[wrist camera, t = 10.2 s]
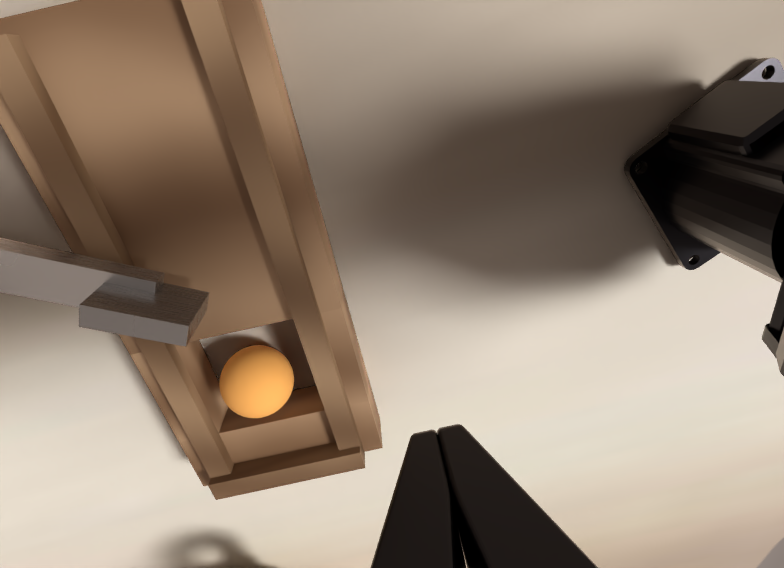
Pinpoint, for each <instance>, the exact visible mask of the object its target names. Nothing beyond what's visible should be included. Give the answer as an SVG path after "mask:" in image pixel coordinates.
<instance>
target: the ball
mask: <svg viewBox="0 0 784 568" xmlns="http://www.w3.org/2000/svg"><path fill="white" fill-rule="evenodd" d="M219 384H220V392H221V396H222V398H223V400H224V402H225V403H226V405H227V406H228V407H229V408H230V409H231V410H232V411H233V412H235V413H236V414H238V415H241V416H243V417H247V418H262V417H266V416H269V415H271V414H273V413H275V412H276V411H278V410H279V409H280V408H281V407H282V406H283V405H284V404H285V403H286V402H287V400H288V399H289V397H290V395H291V392H292V389H293V384H294V375H293V370H292V367H291V365H290V363H289V361H288V360H287V358H286V357H285V356H284V355H283V354H282V353H281V352H279V351H278V350H276V349H274V348H271V347H268V346H263V345H255V346H249V347H246V348H243V349H241V350H240V351H238V352H236V353H235V354H234V355H232V356H231V357H230V358H229V360H228V361H227V362H226V364H225V365H224V367H223V369H222V372H221V376H220V382H219Z"/></svg>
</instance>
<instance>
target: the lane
mask: <svg viewBox="0 0 784 568" xmlns="http://www.w3.org/2000/svg"><path fill="white" fill-rule="evenodd" d="M0 124H1V125H2V127H3V129H4V131H5V132H6V134H7V136H8V138H9V140H10V141H11V143H12V145H13V147H14V149H15V150H16V152H17V154H18V156H19V157H20V159H21V161H22V163H23V165H24V166H25V168H26V170H27V172H28V174H29V175H30V177H31V179H32V181H33V182H34V184H35V186H36V188H37V190H38V191H39V193H40V195H41V197H42V198H43V200H44V202H45V204H46V206H47V207H48V209H49V211H50V213H51V215H52V216H53V218H54V220H55V222H56V223H57V225H58V227H59V229H60V231H61V232H62V234H63V236H64V238H65V240H66V241H67V243H68V245H69V247H70V248H71V250H72V252H73V253H75V254H80V255H84V256H89V257H94V258H98V259H103V260H108V261H112V262H117V263H122V264H126V265H131V266H135V267H140V268H145V269H149V270H154V271H159V272H163V273H164V283H168V284H172V285H177V286H182V287H187V288H191V289H196V290H201V291H205V292H210V293H209V300H208V307H207V312H206V313H205V315H204V317H203V319H202V320H201V322H200V324H199V325H198V327H197V329H196V331H195V332H194V334H193V336H192V337H191V339H190V341H189V343H188V344H187V346H186V347H185V346H179V345H174V344H169V343H163V342H158V341H153V340H147V339H142V338H137V337H131V336H126V335H121V334H119V336H120V338H121V340H122V341H123V343H124V345H125V347H126V348H127V350H128V352H129V354H130V356H131V357H132V359H133V361H134V363H135V365H136V366H137V368H138V370H139V372H140V373H141V375H142V377H143V379H144V381H145V382H146V384H147V386H148V388H149V390H150V391H151V393H152V395H153V397H154V398H155V400H156V402H157V404H158V406H159V407H160V409H161V411H162V413H163V414H164V416H165V418H166V420H167V422H168V423H169V425H170V427H171V429H172V431H173V432H174V434H175V436H176V438H177V439H178V441H179V443H180V445H181V447H182V448H183V450H184V452H185V454H186V456H187V457H188V459H189V461H190V463H191V464H192V466H193V468H194V470H195V472H196V473H197V475H198V477H199V479H200V481H201V482H202V484H203V486H207V485H208V486H209V488H210V490H211V492H212V493H213V495H214V497H215V499H216V500H218V499H222V498H227V497H232V496H236V495H241V494H246V493H250V492H255V491H260V490H264V489H269V488H274V487H278V486H283V485H288V484H292V483H297V482H302V481H306V480H311V479H316V478H320V477H325V476H329V475H334V474H339V473H343V472H348V471H353V470H357V469H362V468H365V454H364V452H365V451H370V450H374V449H379V448H382V437H381V425H380V417H379V414H378V410H377V407H376V403H375V400H374V396H373V393H372V389H371V386H370V382H369V379H368V375H367V372H366V368H365V365H364V361H363V357H362V354H361V350H360V347H359V343H358V340H357V336H356V333H355V329H354V326H353V322H352V319H351V315H350V312H349V308H348V305H347V301H346V298H345V294H344V291H343V287H342V283H341V280H340V276H339V273H338V269H337V266H336V262H335V259H334V255H333V252H332V248H331V245H330V241H329V238H328V234H327V231H326V227H325V224H324V220H323V217H322V213H321V209H320V206H319V202H318V199H317V195H316V192H315V188H314V185H313V181H312V178H311V174H310V171H309V167H308V164H307V160H306V157H305V153H304V150H303V146H302V142H301V139H300V135H299V132H298V128H297V125H296V121H295V118H294V114H293V111H292V107H291V104H290V100H289V97H288V93H287V90H286V86H285V83H284V79H283V76H282V72H281V68H280V65H279V61H278V58H277V54H276V51H275V47H274V44H273V40H272V37H271V33H270V30H269V26H268V23H267V19H266V16H265V12H264V9H263V5H262V2H261V0H78V1H74V2H69V3H65V4H61V5H57V6H52V7H48V8H44V9H39V10H35V11H31V12H26V13H22V14H18V15H14V16H9V17H5V18H1V19H0ZM290 319H293V321H294V324H295V326H296V329H297V332H298V335H299V338H300V341H301V343H302V346H303V349H304V352H305V355H306V358H307V361H308V363H309V366H310V369H311V372H312V375H313V378H314V381H315V383H316V386H312V387H307V388H303V389H298V390H293V391H292V392H291V395H290V397H289V399H288V400H287V402H286V403H285V404H284V405H283V406H282V407H281V408H280V409H279V410H278V411H276V412H275V413H273V414H271V415H269V416H266V417H262V418H247V417H243V416H241V415H238V414H236V413H235V412H233V411H232V410H231V409H230V408H229V407H228V406H227V405H226V403H225V402H224V400H223V398H222V396H221V392H220V384H219V382H218V380H217V378H216V375H215V373H214V371H213V369H212V367H211V365H210V363H209V360H208V358H207V356H206V354H205V352H204V350H203V348H202V346H201V343H200V341H199V340H200V339H204V338H209V337H213V336H218V335H222V334H227V333H231V332H236V331H241V330H245V329H250V328H254V327H259V326H263V325H268V324H272V323H277V322H281V321H286V320H290Z"/></svg>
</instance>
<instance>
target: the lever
mask: <svg viewBox="0 0 784 568" xmlns="http://www.w3.org/2000/svg"><path fill="white" fill-rule="evenodd" d="M0 292H1V293H6V294H11V295H16V296H21V297H26V298H32V299H37V300H42V301H47V302H52V303H57V304H62V305H67V306H73V307H78V308H79V327H83V328H89V329H94V330H99V331H105V332H110V333H115V334H121V335H126V336H131V337H137V338H142V339H147V340H153V341H158V342H163V343H169V344H174V345H179V346H185V347H186V346H187V344H188V343H189V341H190V339H191V337H192V336H193V334H194V332H195V331H196V329H197V327H198V325H199V324H200V322H201V320H202V319H203V317H204V315H205V313H206V312H207V307H208V300H209V293H210V292H205V291H201V290H196V289H191V288H187V287H182V286H177V285H172V284H168V283H164V273H163V272H159V271H154V270H149V269H145V268H140V267H135V266H131V265H126V264H122V263H117V262H112V261H108V260H103V259H98V258H94V257H89V256H84V255H80V254H75V253H71V252H66V251H61V250H57V249H52V248H47V247H43V246H38V245H33V244H29V243H24V242H20V241H15V240H10V239H6V238H1V237H0Z"/></svg>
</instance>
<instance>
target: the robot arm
mask: <svg viewBox="0 0 784 568" xmlns="http://www.w3.org/2000/svg"><path fill="white" fill-rule="evenodd" d="M765 67H766V73H765V75H764V76H763V77H762V72H763V70H764V68H765ZM640 162H642V167H641V169H640V170H639V171H637V172H636V171H635V168H636V166H637V164H638V163H640ZM624 171H625V174H626V176H627V177H628V179H629V181H630V182H631V184H632V186H633V188H634V189H635V191H636V193H637V194H638V196H639V198H640V199H641V201H642V203H643V204H644V206H645V208H646V209H647V211H648V213H649V215H650V216H651V218H652V220H653V221H654V223H655V225H656V226H657V228H658V230H659V231H660V233H661V235H662V236H663V238H664V240H665V241H666V243H667V245H668V247H669V248H670V250H671V252H672V253H673V255H674V257H675V258H676V260H677V262H678V263H679V264H680V265H681V266H682V267H684V268H686V269H688V270H694V269H696V268H698V267H700V266H701V265H703V264H704V263H706V262H707V261H709V260H710V259H712V258H713V257H715V256H716V255H717V254H719V253H720V252H721V253H723V254H725V255H727V256H729V257H731V258H733V259H735V260H737V261H739V262H741V263H743V264H745V265H747V266H749V267H751V268H753V269H755V270H757V271H759V272H761V273H763V274H765V275H767V276H769V277H771V278H773V279H775V280H777V281H779V282H781V283H782V284H781V287H780V291H779V294H778V297H777V301H776V304H775V308H774V311H773V314H772V318H771V321H770V324H766V326H765V329H764V332H763V336H762V340H763V341H764V343H765V344H766V345H767V347H768V348H769V349H770V350H771V352H772V353H773V354H774V356H775V357H776V358H777V362H778V366H779V370H780V372H781V374H782V375H783V376H784V70H783V68H782V65H781V63H780V61H779V60H778V59H776V58H762V59H759V60H757V61H755V62H754V63H753V64H751V65H750V66H749V67H748V68H746V69H745V70H744V71H742V72H741V73H740V74H738V75H737V76H736V77H734V78H733V79H732V80H726V81H724V82H722V83H721V84H720V85H718V86H717V87H716V88H714V89H713V90H712V91H711V92H709V93H708V94H707V95H705V96H704V97H703V98H701V99H700V100H699V101H698V102H696V103H695V104H694V105H692V106H691V107H690V108H688V109H687V110H686V111H684V112H683V113H682V114H681V115H679V116H678V117H677V118H675V119H674V120H673V121H671V122H670V124H669V125H668V127H667V129H666V130H665V131H664V132H662V133H661V134H660V135H659V136H657V137H656V138H655V139H653V140H652V141H651V142H649V143H648V144H647V145H645V146H644V147H643V148H642V149H640V150H639V151H638V152H636V153H635V154H634V155H632V156H631V157H630V158H629V159H628V160H627V162H626V164H625V167H624ZM693 255H694V256H693ZM691 256H693V258H692V259H691V260H690V261H689V258H690V257H691ZM462 548H463V549H462ZM463 552H464V554H463ZM464 557H465V559H464ZM465 561H466V564H467V568H598V567H597V566H596V565H595V564H594V563H593V562H592V561H591V560H590V559H589V558H588V557H587V556H586V554H585V553H584V552H583V551H582V550H581V549H580V548H579V547H578V546H577V545H576V544H575V543H574V542H573V541H572V540H571V539H570V538H569V537H568V536H567V535H566V534H565V532H564V531H563V530H562V529H561V528H560V527H559V526H558V525H557V524H556V523H555V522H554V521H553V520H552V519H551V518H550V517H549V516H548V515H547V514H546V513H545V511H544V510H543V509H542V508H541V507H540V506H539V505H538V504H537V503H536V502H535V501H534V500H533V499H532V498H531V497H530V496H529V495H528V494H527V493H526V492H525V491H524V489H523V488H522V487H521V486H520V485H519V484H518V483H517V482H516V481H515V480H514V479H513V478H512V477H511V476H510V475H509V474H508V473H507V472H506V471H505V470H504V468H503V467H502V466H501V465H500V464H499V463H498V462H497V461H496V460H495V459H494V458H493V457H492V456H491V455H490V454H489V453H488V452H487V451H486V450H485V449H484V448H483V446H482V445H481V444H480V443H479V442H478V441H477V440H476V439H475V438H474V437H473V436H472V435H471V434H470V433H469V432H468V431H467V430H466V429H465V428H464V427H463V426H462V425H460V424H456V425H452V426H447V427H442V428H439V429H438V431H437V432H436V431H435V430H428V431H423V432H419V433H414V434H413V435H412V436H411V438H410V441H409V444H408V447H407V451H406V454H405V457H404V461H403V464H402V467H401V470H400V474H399V477H398V480H397V483H396V487H395V490H394V493H393V496H392V500H391V503H390V506H389V509H388V513H387V516H386V519H385V523H384V526H383V529H382V532H381V536H380V539H379V542H378V545H377V549H376V552H375V555H374V558H373V562H372V565H371V568H466V564H465Z"/></svg>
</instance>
